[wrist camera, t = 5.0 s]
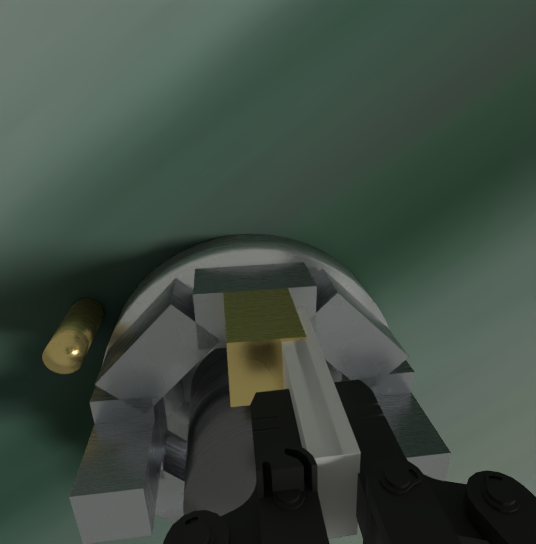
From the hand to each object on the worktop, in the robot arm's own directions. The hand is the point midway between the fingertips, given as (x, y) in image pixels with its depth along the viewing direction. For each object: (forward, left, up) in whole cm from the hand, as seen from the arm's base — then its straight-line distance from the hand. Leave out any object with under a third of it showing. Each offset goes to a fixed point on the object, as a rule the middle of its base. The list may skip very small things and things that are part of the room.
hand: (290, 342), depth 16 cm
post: (+9, -4, -7) cm, 12 cm away
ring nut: (+4, +4, -4) cm, 7 cm away
